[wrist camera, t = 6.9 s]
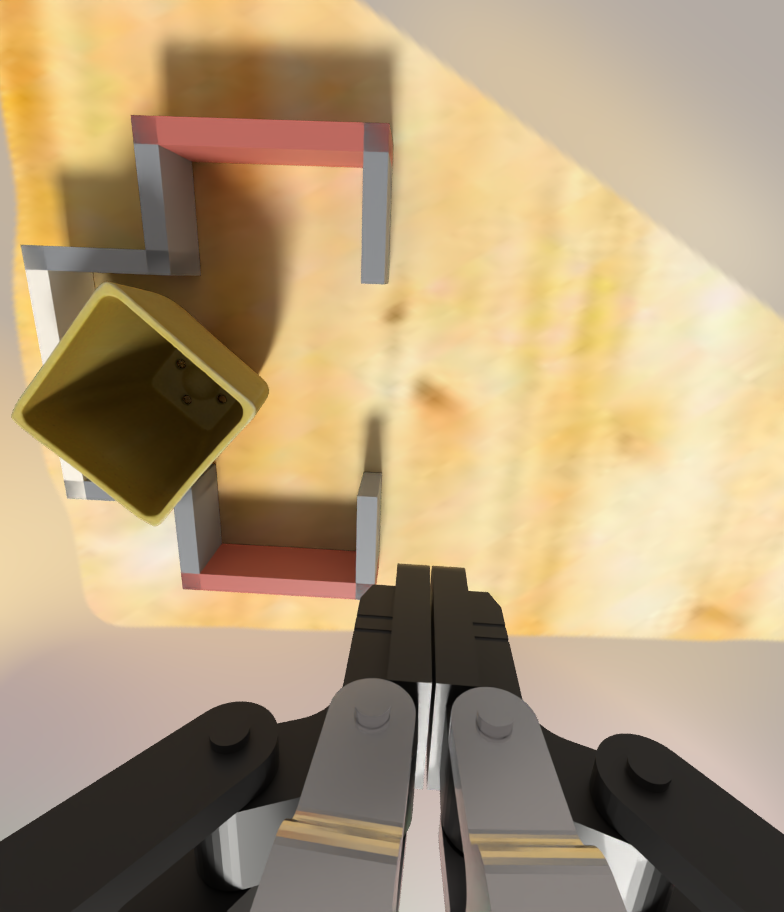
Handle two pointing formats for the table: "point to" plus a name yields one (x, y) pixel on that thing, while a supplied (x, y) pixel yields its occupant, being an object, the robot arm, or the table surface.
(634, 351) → the table surface
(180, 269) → the box
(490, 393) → the table surface
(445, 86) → the table surface
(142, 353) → the flower pot
